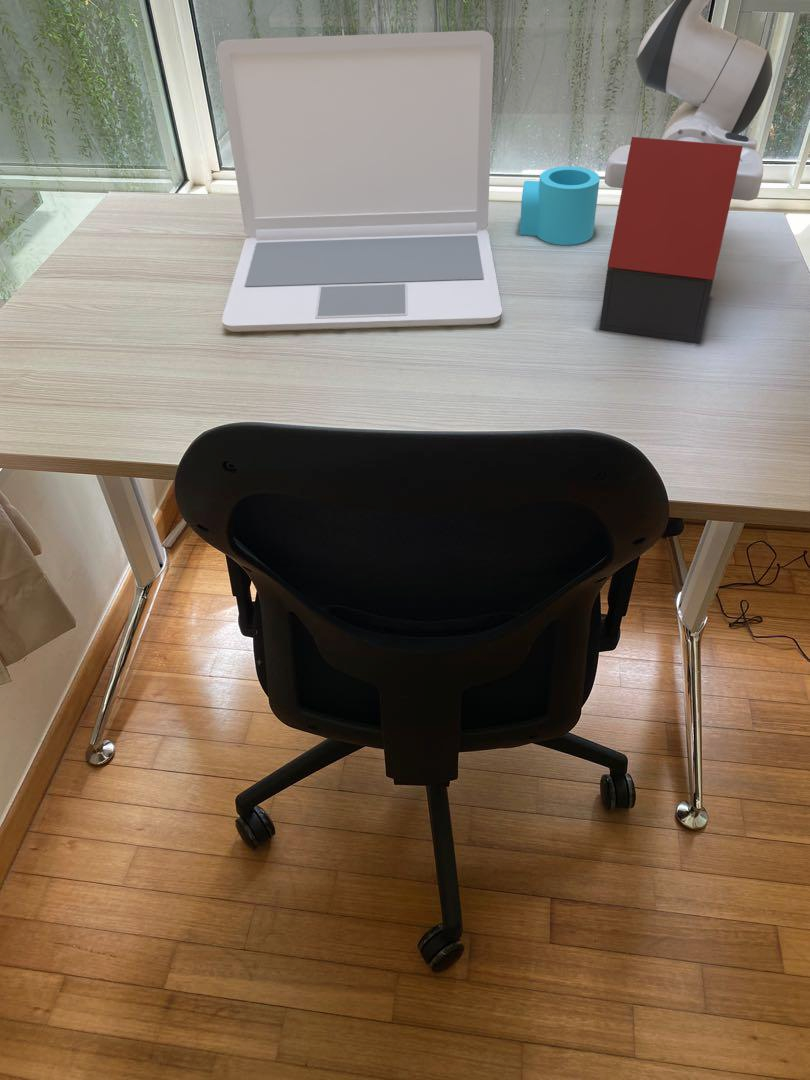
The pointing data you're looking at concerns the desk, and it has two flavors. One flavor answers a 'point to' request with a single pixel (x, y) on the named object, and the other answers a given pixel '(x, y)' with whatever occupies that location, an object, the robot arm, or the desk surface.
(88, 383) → the desk surface
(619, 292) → the dark grey box
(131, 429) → the desk surface
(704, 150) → the lid
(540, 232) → the cup
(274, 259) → the laptop
